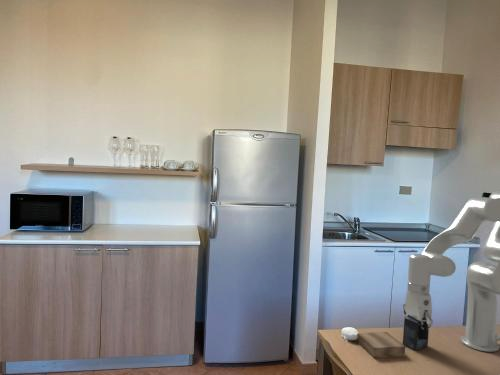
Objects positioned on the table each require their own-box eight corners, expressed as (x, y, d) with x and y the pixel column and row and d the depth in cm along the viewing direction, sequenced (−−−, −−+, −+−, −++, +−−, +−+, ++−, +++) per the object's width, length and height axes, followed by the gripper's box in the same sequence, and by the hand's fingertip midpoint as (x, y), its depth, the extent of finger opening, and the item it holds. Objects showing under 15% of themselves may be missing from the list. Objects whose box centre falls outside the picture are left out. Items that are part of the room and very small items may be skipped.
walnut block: (386, 342, 145) (386, 331, 145) (404, 357, 133) (405, 346, 133) (357, 343, 143) (357, 333, 143) (373, 359, 131) (374, 348, 131)
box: (416, 351, 137) (417, 322, 137) (402, 345, 142) (403, 317, 142) (428, 346, 142) (430, 318, 141) (414, 340, 146) (416, 313, 146)
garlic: (363, 343, 143) (364, 333, 143) (347, 343, 142) (347, 333, 142) (354, 334, 151) (355, 324, 151) (338, 334, 150) (338, 325, 150)
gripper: (443, 295, 133) (440, 344, 134) (413, 280, 150) (410, 324, 151) (424, 295, 132) (421, 345, 132) (396, 281, 149) (393, 325, 150)
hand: (415, 333), depth 142 cm, fingers open, 7 cm apart
